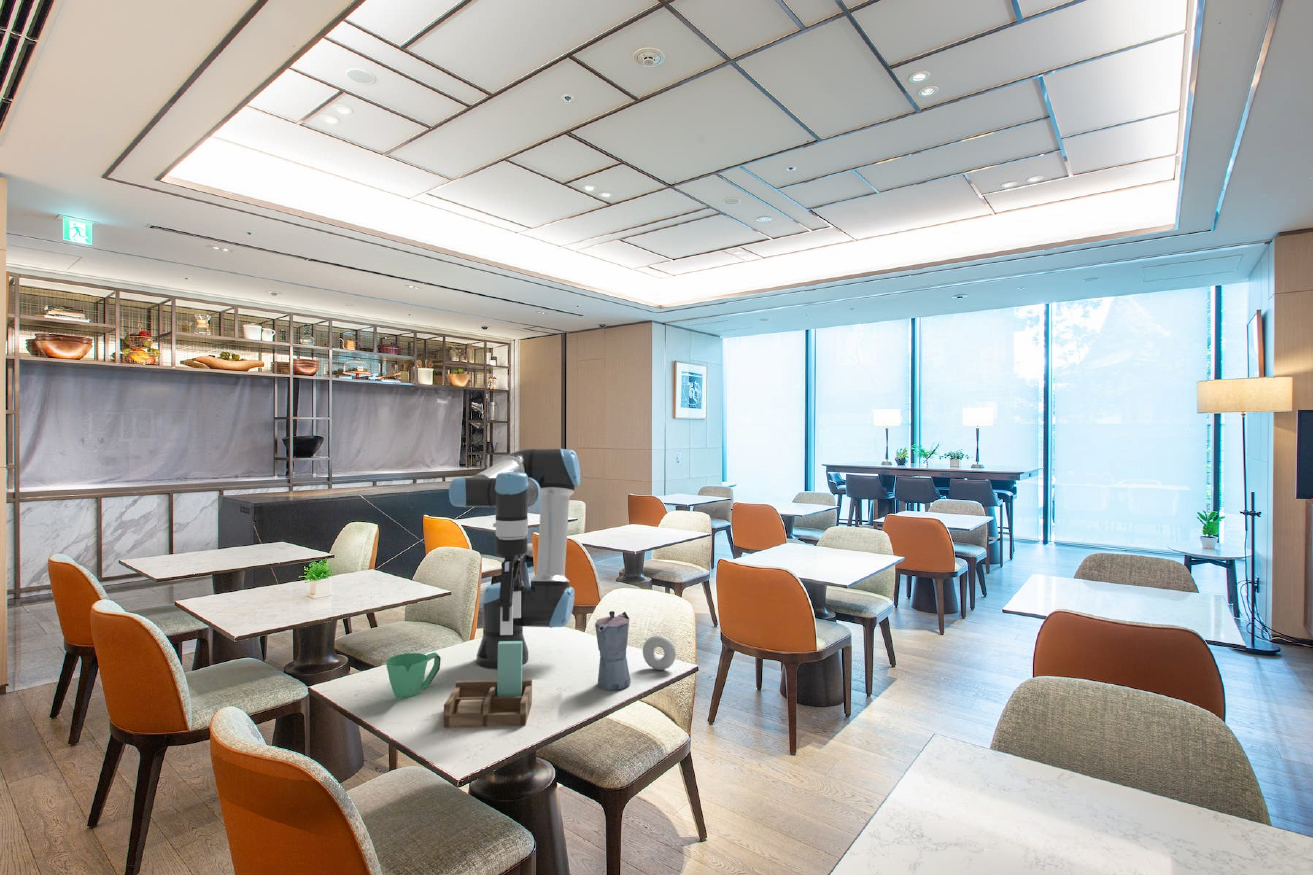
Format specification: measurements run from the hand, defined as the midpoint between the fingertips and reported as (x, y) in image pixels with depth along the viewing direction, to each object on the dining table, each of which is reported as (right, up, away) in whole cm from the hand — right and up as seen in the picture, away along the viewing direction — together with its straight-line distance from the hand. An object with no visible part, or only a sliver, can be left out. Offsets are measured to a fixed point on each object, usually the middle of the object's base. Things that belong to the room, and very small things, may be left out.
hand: (510, 625), depth 153 cm
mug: (-27, -22, +11) cm, 37 cm away
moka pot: (+23, -22, +21) cm, 38 cm away
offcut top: (-8, -18, -7) cm, 20 cm away
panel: (0, -20, -1) cm, 20 cm away
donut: (+36, -22, +32) cm, 53 cm away
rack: (-4, -21, -4) cm, 22 cm away
